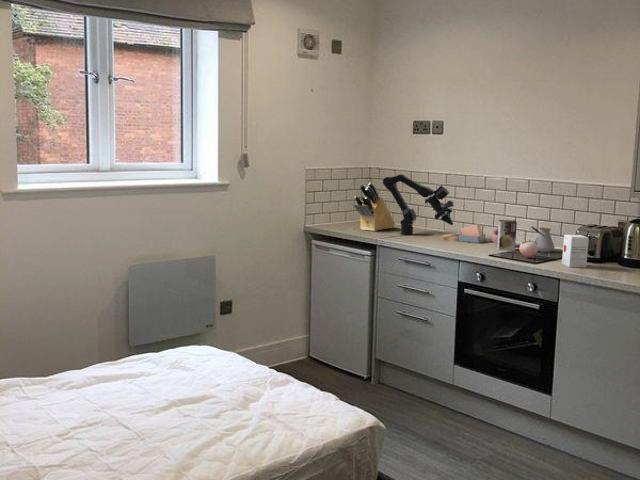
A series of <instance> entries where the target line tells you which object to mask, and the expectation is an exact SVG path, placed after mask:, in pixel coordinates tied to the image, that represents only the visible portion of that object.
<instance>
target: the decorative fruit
mask: <svg viewBox="0 0 640 480" xmlns="http://www.w3.org/2000/svg"><path fill="white" fill-rule="evenodd" d="M534 242H535V240H531V239H530V238H529V240H523V241H521V242H520V245H519V252H520V253H521V255H522V256H524V257H525V258H526V257H527V258H526V259H530V258H532V257H534V256H535V255H536V254H537V253H538V252H537V251H538V246H537V245H536V244H537V243H536V242H535V243H534Z"/></svg>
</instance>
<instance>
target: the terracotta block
mask: <svg viewBox="0 0 640 480" xmlns="http://www.w3.org/2000/svg"><path fill="white" fill-rule="evenodd" d="M460 232H461V235H469V236H481V235H483V234H484V233H483V231H482V226H481V224H480V223H476V224H473V225H468V226H464V227H461V228H460Z"/></svg>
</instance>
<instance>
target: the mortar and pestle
mask: <svg viewBox="0 0 640 480" xmlns="http://www.w3.org/2000/svg"><path fill="white" fill-rule="evenodd" d="M491 240H492V242H493V243H494V244H495V245H497V243H498V227H496V228H493V230H492V231H491Z"/></svg>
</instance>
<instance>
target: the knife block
mask: <svg viewBox="0 0 640 480" xmlns="http://www.w3.org/2000/svg"><path fill="white" fill-rule="evenodd" d="M359 188H360V190H361V192H362V194H363V195H364V196H361V195H360V196H357V195H355V196H354V199H355V201H356V203H357V204H354V205H353V206H354V208H355V209H356V211H357V213H358V214H359V215H360V219H359V220H360V225H359V226H360V230H362V231H372V232H377V231H380V230H386V229H392V228H394V227H395V225H396V223H395V221H394V218H393V217H392V214H391V213H390V211H389V208H388V206H387V205H386V203H385V201H384V199H383V197H382V196H379V193H378V192H377V189H376V187H375V185H374V184H373V183H372V182H369V183H368V184H367V186H366V187H365V186H364V184H361V185H359ZM361 199H362V200H361Z"/></svg>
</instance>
